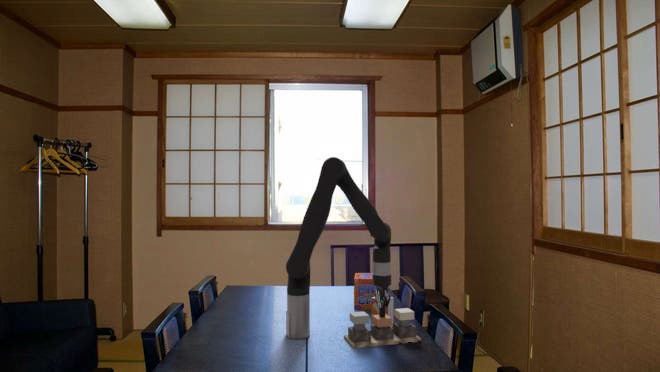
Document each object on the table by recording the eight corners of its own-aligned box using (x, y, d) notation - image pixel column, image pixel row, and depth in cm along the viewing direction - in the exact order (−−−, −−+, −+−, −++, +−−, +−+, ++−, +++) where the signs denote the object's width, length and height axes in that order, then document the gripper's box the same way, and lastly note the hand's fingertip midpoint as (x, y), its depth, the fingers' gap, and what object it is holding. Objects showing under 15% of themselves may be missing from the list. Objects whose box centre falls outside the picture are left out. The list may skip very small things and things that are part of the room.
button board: (353, 348, 174) (353, 334, 174) (343, 338, 185) (343, 325, 185) (421, 341, 181) (421, 328, 181) (408, 332, 193) (408, 319, 193)
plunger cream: (400, 330, 182) (400, 312, 182) (394, 326, 188) (394, 309, 188) (414, 329, 184) (414, 311, 184) (407, 325, 189) (407, 307, 189)
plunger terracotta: (377, 337, 180) (377, 319, 180) (372, 332, 185) (372, 315, 185) (392, 336, 181) (391, 318, 181) (386, 331, 187) (386, 314, 187)
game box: (385, 310, 226) (385, 278, 226) (353, 310, 228) (353, 278, 228) (385, 302, 242) (384, 272, 242) (355, 302, 243) (355, 272, 243)
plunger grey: (354, 334, 177) (354, 316, 177) (349, 330, 183) (349, 312, 183) (369, 333, 179) (369, 315, 179) (364, 328, 184) (364, 311, 184)
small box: (370, 328, 198) (370, 297, 198) (376, 324, 204) (376, 294, 204) (388, 331, 194) (388, 300, 194) (393, 327, 200) (393, 296, 200)
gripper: (367, 270, 189) (367, 313, 189) (379, 276, 176) (379, 322, 176) (384, 269, 191) (384, 311, 191) (397, 275, 178) (397, 320, 178)
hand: (382, 316), depth 183 cm, fingers closed
